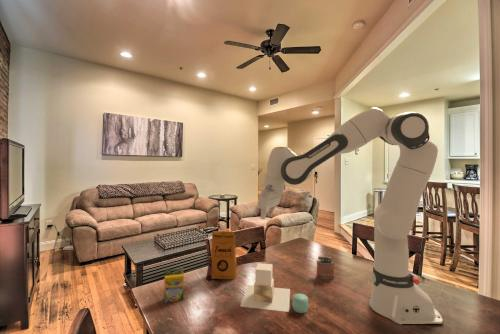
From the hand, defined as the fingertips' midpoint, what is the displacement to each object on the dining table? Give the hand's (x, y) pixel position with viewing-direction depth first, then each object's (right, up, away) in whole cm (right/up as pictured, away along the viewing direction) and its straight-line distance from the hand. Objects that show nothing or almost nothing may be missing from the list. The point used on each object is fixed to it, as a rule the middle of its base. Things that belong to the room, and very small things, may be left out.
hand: (266, 216), depth 101 cm
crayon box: (-37, -32, -6) cm, 49 cm away
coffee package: (-19, -32, +13) cm, 39 cm away
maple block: (-1, -31, -5) cm, 31 cm away
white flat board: (0, -32, -6) cm, 32 cm away
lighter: (+29, -32, +13) cm, 45 cm away
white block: (-1, -25, -5) cm, 25 cm away
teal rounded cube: (+12, -32, -13) cm, 36 cm away
